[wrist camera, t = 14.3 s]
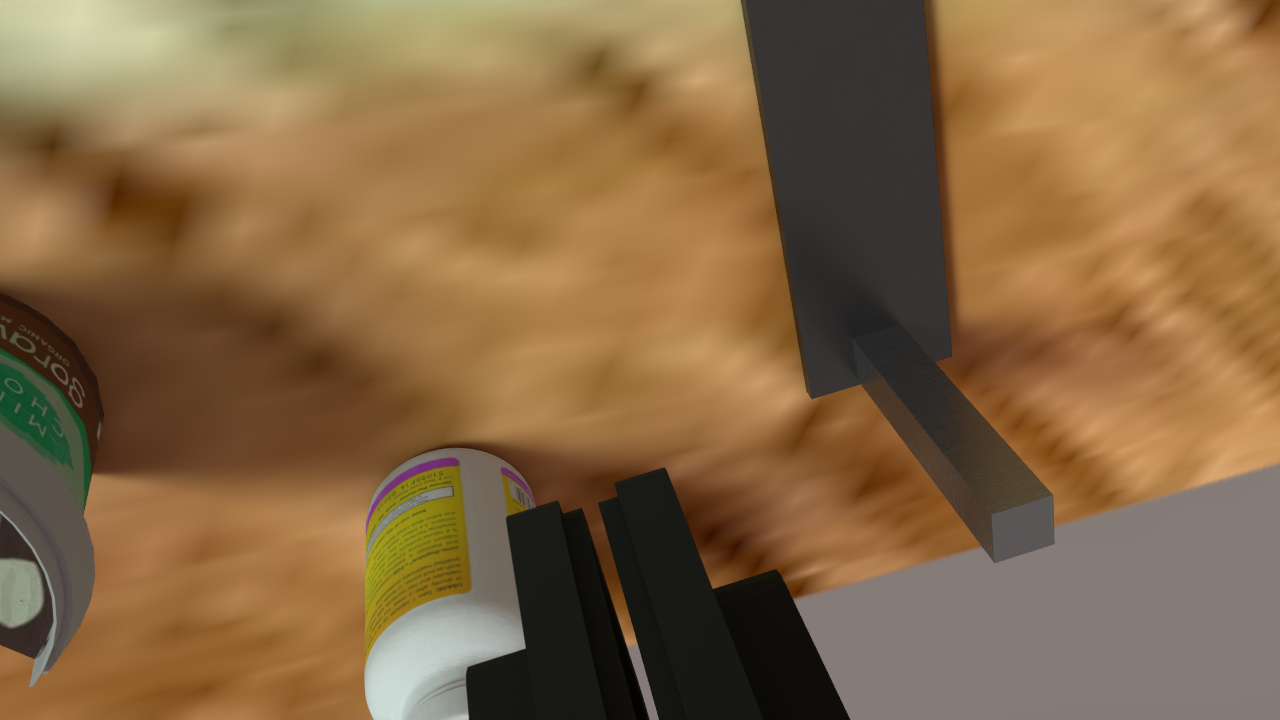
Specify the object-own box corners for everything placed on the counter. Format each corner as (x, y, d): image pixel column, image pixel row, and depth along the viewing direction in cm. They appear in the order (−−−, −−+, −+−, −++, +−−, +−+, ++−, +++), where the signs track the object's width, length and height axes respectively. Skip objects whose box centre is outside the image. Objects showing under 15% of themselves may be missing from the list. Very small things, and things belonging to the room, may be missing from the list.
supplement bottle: (343, 554, 43) (328, 828, 32) (401, 420, 41) (406, 667, 30) (499, 590, 46) (534, 855, 35) (562, 466, 43) (621, 709, 32)
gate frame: (665, -447, 29) (814, -551, 19) (874, -500, 30) (1129, -630, 20) (806, 391, 44) (934, 587, 34) (945, 348, 44) (1113, 529, 34)
